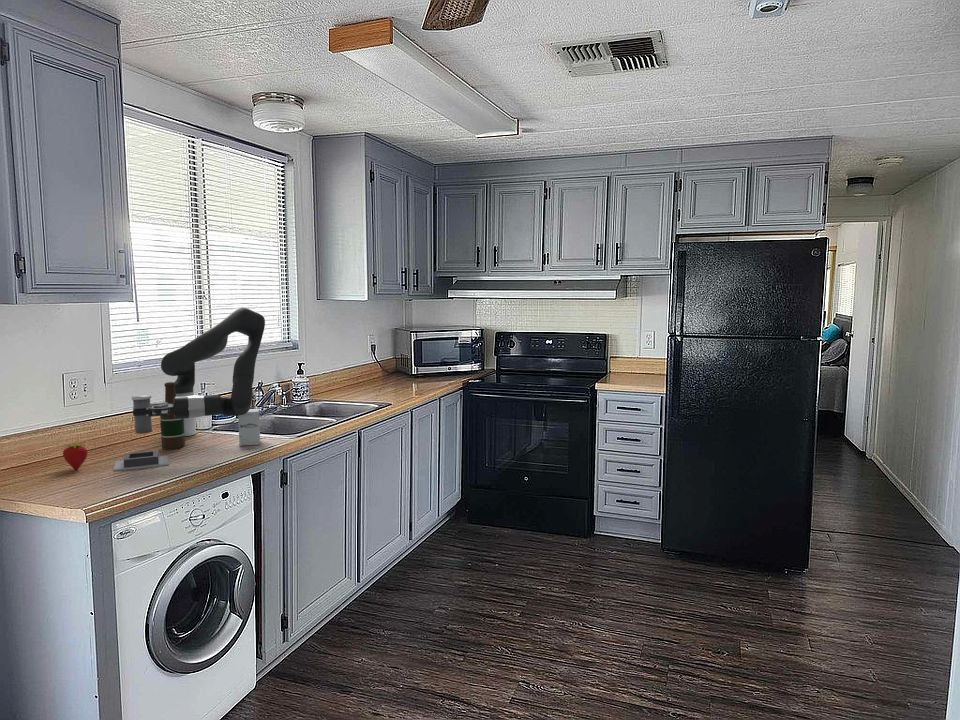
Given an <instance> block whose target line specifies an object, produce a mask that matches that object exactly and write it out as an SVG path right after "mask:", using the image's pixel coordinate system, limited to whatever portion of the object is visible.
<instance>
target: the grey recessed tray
mask: <svg viewBox="0 0 960 720" xmlns="http://www.w3.org/2000/svg"><path fill="white" fill-rule="evenodd" d="M169 465H170V463H169V455H162V456H159V450H146V451H139V452H138V451H137V452H128V453H127V452H126V453H124V456H123V460H116V461H115V462H114V466H113V468H112V469H113V470H112V471H113V472H121V471H128V470H137V469H147V468H157V467H165V466H169Z"/></svg>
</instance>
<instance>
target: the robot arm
mask: <svg viewBox="0 0 960 720" xmlns="http://www.w3.org/2000/svg"><path fill="white" fill-rule="evenodd" d="M265 328H266V319H265V317H264V315H262V314H261V313H258V312H256V311H254V310H251V309H250V308H247V307H240V308H239V307H238V308H237V309H236V310H234V311H232V313H230V314H229V315H228V316H227V317H225V318H224V319H222V321H220V322H219V323H217V324H216V325H215V326H213V327H212V328H209V329H208V330H206V331H204V332H203V333H202V334H200V335H198V336H197V337H196V338H194V339H192V340H191V341H189V342H188V343H186V344H185V345H183V346H182V347H179V348H177V349H176V350H173V351H171V352H168V353H166V354H165V355H164V356H163V358H162V359H161V363H160V368H161V371H162V373H164V374H165V375H167V376H171V377H176V380H175V381H173V382H174V383H175V384H176V385H175V391H176V397H174V403H173V404H168V403H167V402H165V401H164V402H156V403H150V408H149V407H147V408H146V409H145V408H141V409H134V407H132V415H133V417H134V416H141V415H146V416H150V417H151V418H152V417H160V416H167V415H168V414H169V413H174V415H175V419H184V434H185V437H189V436H194V435H196V434H197V431H196V418H201V417H207V416H217V415H218V416H226V417H227V416H228V417H229V416H230V417H238V416H240V415H244V414H246V413H247V412H248V411H249V409H251V406H252V402H253V384H254V378H255V367H256V362H257V357H258V353H259V350H260V346H261V343H262V340H263V337H264V336H263V335H264V332H265ZM235 332H237V333H240V334H242V335H245V336H247V339H248V343H247V345H246V348H245V349H244V350H243V351H242V352H241V353H240V355H238V357H237V359H236V360H235V363H234V365H233V371H232V372H233V373H232V388H231V395H230V397H222V396H221V395H219V394H206V395H199V394H198V395H194V394H195V393H194V391H195V390H194V387H195V384H196V363H197V362H201V361H204V360H207V359H210V358H213V357H215V356H216V355H218V354H220V353H221V352H222V351H224V350H225V349H226V347H227V345H228V339H229V336H230V335H232V334H233V333H235Z"/></svg>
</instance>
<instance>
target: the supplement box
mask: <svg viewBox="0 0 960 720" xmlns="http://www.w3.org/2000/svg"><path fill="white" fill-rule="evenodd" d="M237 417H238V418H237V419H238V445H239V447H241V446H258V445H260V443H261V426H260V425H261V421H260V409H259V408H253V409H252V408H250V409H249V411H248V412H247V413H246V414H244V415H240V416H237Z"/></svg>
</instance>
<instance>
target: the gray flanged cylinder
mask: <svg viewBox="0 0 960 720" xmlns="http://www.w3.org/2000/svg"><path fill="white" fill-rule="evenodd" d="M151 399H152V395H151V394H139V395H132V396H131V400H132V405H133V407H134V409H141V408H145V409H146V408H147V407H149V408H150V404H151ZM133 407H132V408H133ZM133 418H134V419H133V420H134V434H136V435H137V434H139V435H140V434H149V433H152V432H153V426H152V424H153V423H152V416H151V417H150V416H146V415H141V416H133Z"/></svg>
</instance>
